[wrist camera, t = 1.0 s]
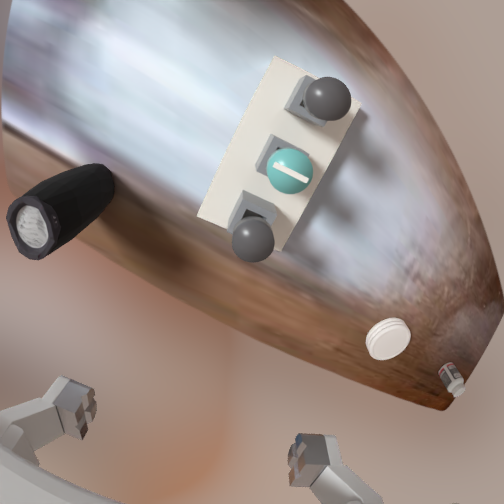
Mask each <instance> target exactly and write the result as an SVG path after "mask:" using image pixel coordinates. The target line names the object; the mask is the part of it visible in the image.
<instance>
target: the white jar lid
mask: <svg viewBox="0 0 504 504" xmlns="http://www.w3.org/2000/svg"><path fill="white" fill-rule="evenodd" d="M410 338H411V334H410V330H409V328H408V327H407V325H406V324H405V322H404V321H403V320H401V319H399V318H388V319H385V320H382V321H380V322H379V323H377V324H376V325H375V326H373V327H372V328H371V330H370V331H369V332H368V334H367V337H366V347H367V348H368V351H369V353H370V355H371V356H372V357H373V358H374V359H377V360H387V359H390V358H393V357H395V356H397V355H398V354H400V353H401V352H402V351H403V350H404V349H405V348H406V347H407V345H408V344H409V341H410Z"/></svg>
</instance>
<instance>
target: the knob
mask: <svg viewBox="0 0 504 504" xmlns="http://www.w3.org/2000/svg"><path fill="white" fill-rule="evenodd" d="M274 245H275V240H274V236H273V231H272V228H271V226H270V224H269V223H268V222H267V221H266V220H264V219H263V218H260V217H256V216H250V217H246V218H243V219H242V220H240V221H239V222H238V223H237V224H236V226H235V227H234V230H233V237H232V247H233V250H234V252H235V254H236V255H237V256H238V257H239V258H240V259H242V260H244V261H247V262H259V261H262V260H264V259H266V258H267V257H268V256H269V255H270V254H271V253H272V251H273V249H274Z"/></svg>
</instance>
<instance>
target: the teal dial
mask: <svg viewBox="0 0 504 504" xmlns="http://www.w3.org/2000/svg"><path fill="white" fill-rule="evenodd" d="M266 171H267V175H268V178H269V180H270V183H271V184H272V186H273V187H274V188H275V189H276V190H278V191H279V192H282V193H285V194H296V193H299V192H301V191H303V190H304V189H305V188H307V187H308V185H309V184H310V182H311V180H312V177H313V167H312V164H311V162H310V160H309V158H308V157H307V156H306V155H304V154H303V153H302V152H300V151H299V150H297V149H294V148H290V147H286V148H281V149H278V150H276V151H275V152H274V153H273V154H272V155H271V156H270V157H269V159H268V161H267V166H266Z"/></svg>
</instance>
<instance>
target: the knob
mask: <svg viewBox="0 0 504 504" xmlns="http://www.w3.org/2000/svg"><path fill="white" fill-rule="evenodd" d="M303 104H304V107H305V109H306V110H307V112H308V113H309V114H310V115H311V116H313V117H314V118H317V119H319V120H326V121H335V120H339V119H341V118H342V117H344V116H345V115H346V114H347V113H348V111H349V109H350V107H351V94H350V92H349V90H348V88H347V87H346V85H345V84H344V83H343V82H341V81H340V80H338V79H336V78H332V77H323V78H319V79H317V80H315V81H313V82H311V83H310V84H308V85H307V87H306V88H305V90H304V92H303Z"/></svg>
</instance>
